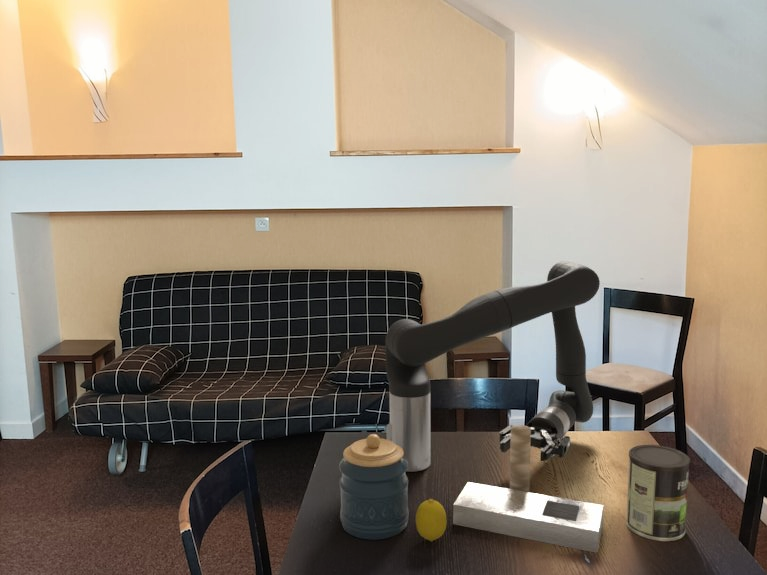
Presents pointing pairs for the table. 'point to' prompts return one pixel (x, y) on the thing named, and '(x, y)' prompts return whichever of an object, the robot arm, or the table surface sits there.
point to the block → (530, 516)
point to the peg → (520, 458)
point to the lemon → (431, 520)
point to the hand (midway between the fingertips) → (522, 452)
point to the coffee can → (657, 492)
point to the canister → (374, 489)
